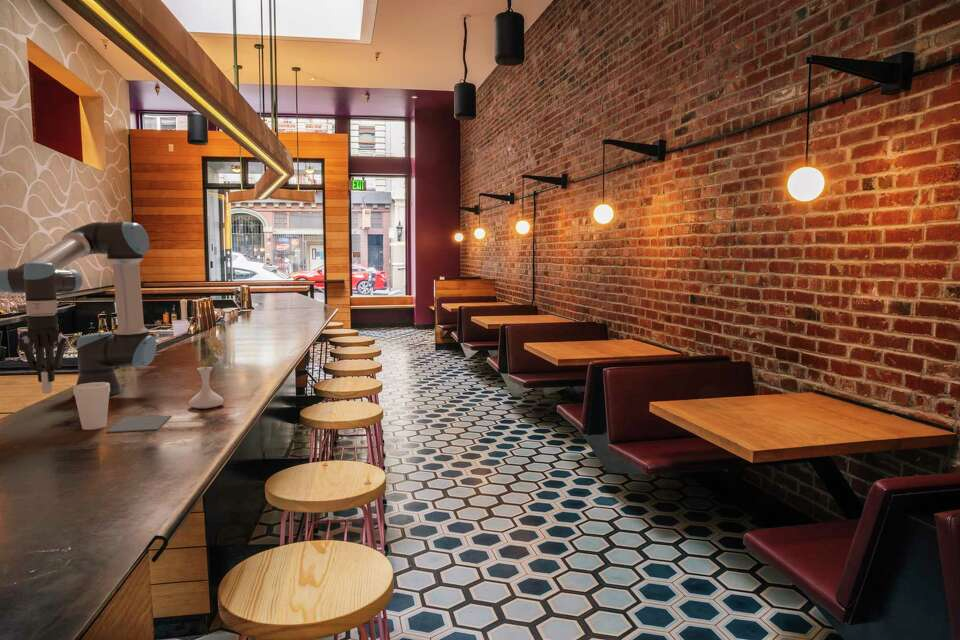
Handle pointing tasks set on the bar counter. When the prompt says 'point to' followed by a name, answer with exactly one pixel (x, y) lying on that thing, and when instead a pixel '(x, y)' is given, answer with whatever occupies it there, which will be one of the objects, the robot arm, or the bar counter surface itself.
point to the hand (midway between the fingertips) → (47, 392)
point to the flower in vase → (206, 395)
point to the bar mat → (139, 424)
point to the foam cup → (92, 404)
